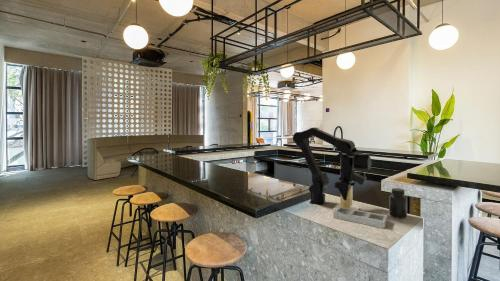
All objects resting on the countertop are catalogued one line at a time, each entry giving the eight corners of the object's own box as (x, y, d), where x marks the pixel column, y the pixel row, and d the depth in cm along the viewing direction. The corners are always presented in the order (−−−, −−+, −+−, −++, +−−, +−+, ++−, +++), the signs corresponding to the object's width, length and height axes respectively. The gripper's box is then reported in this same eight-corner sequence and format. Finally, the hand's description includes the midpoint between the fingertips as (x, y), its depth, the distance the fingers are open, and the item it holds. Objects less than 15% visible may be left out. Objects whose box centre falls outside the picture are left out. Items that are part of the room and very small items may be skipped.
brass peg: (340, 206, 117) (340, 186, 116) (343, 203, 121) (343, 184, 120) (350, 208, 115) (350, 187, 114) (352, 205, 118) (352, 185, 117)
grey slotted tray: (333, 217, 108) (333, 212, 108) (338, 211, 115) (338, 206, 114) (384, 228, 96) (384, 222, 96) (387, 221, 103) (387, 215, 102)
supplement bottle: (400, 212, 112) (400, 187, 111) (410, 218, 105) (411, 191, 104) (385, 213, 111) (386, 187, 110) (394, 219, 105) (395, 192, 104)
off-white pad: (333, 209, 117) (333, 208, 117) (338, 204, 124) (338, 203, 124) (355, 214, 111) (355, 213, 111) (359, 208, 118) (359, 207, 118)
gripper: (360, 172, 104) (359, 208, 105) (369, 165, 119) (368, 196, 120) (334, 169, 110) (333, 203, 112) (345, 163, 125) (345, 192, 127)
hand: (346, 198), depth 117 cm, fingers closed on brass peg, 4 cm apart
